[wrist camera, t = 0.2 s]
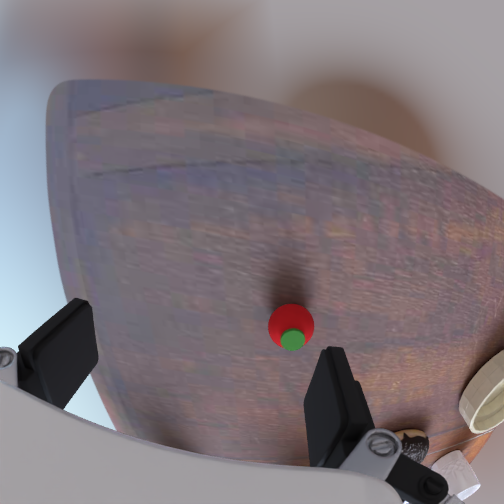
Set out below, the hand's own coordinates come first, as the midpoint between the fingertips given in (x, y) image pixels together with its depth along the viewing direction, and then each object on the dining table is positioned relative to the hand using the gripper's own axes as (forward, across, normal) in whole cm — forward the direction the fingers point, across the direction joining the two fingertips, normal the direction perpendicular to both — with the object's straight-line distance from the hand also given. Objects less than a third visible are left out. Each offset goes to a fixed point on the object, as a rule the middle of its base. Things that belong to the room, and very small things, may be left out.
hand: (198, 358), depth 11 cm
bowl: (+15, -39, +14) cm, 45 cm away
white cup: (+16, -44, +35) cm, 58 cm away
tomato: (+15, -6, +6) cm, 17 cm away
